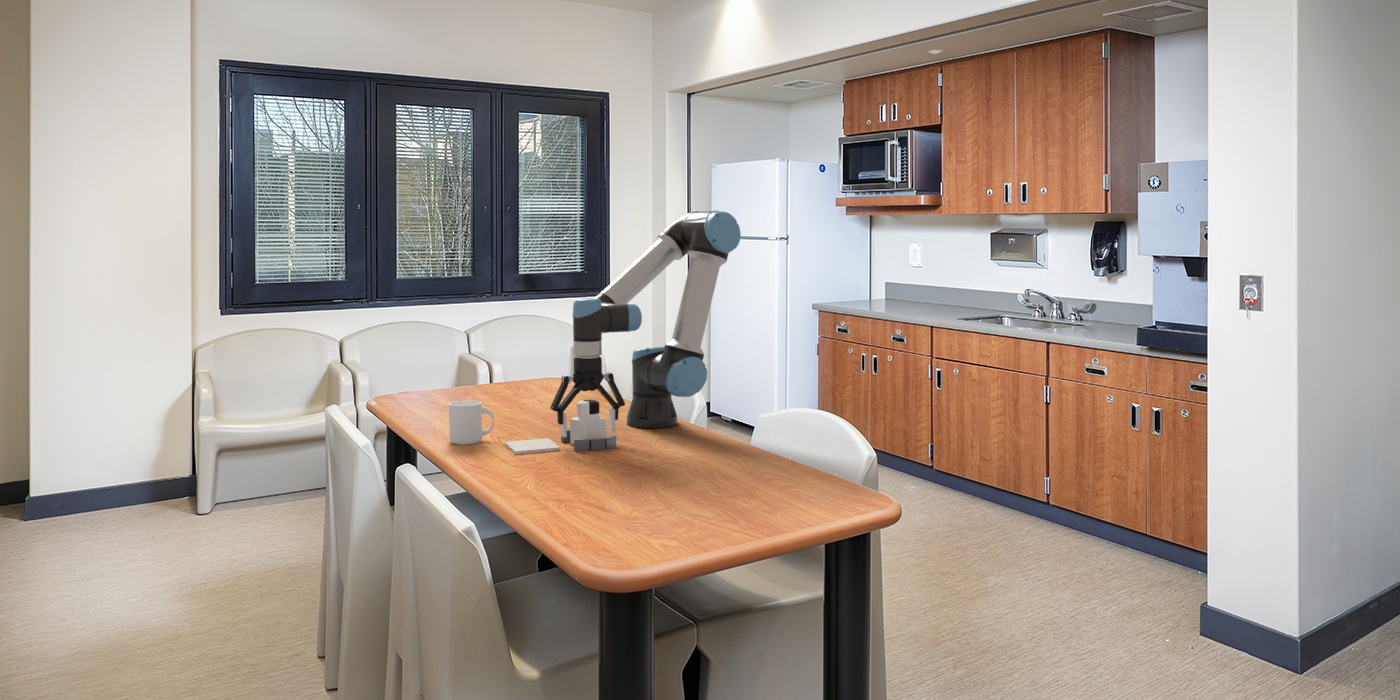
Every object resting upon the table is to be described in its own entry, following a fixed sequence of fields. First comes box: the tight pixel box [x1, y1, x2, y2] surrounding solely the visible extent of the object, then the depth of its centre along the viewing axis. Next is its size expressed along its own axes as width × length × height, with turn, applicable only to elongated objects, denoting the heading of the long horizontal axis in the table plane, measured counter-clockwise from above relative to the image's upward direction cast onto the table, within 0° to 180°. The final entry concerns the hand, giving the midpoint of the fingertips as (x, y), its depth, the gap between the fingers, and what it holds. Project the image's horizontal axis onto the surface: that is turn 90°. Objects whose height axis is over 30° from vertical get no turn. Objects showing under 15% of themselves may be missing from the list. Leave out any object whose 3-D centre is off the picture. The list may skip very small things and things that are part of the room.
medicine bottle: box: [569, 399, 607, 446], centre depth 260 cm, size 7×7×12 cm
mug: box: [448, 399, 495, 446], centre depth 263 cm, size 9×12×11 cm
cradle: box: [560, 428, 617, 452], centre depth 260 cm, size 12×16×3 cm
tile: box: [503, 437, 561, 455], centre depth 256 cm, size 12×12×1 cm
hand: (588, 434), depth 260 cm, fingers open, 13 cm apart
